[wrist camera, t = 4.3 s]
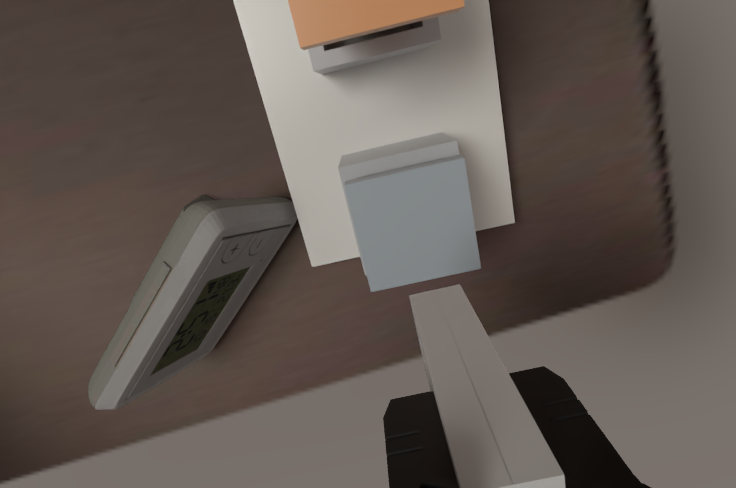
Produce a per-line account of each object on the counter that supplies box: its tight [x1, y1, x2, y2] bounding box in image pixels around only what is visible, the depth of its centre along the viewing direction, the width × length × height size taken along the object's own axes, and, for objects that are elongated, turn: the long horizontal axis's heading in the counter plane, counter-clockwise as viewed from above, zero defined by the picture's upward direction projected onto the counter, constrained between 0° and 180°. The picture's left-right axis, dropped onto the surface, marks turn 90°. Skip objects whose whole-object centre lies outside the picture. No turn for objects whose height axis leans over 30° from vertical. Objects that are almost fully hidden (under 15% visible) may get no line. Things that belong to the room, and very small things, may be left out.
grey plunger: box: [344, 155, 481, 292], centre depth 26 cm, size 6×6×8 cm
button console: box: [233, 0, 515, 275], centre depth 27 cm, size 15×20×8 cm
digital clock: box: [88, 195, 297, 410], centre depth 30 cm, size 16×9×11 cm, turn 134°
